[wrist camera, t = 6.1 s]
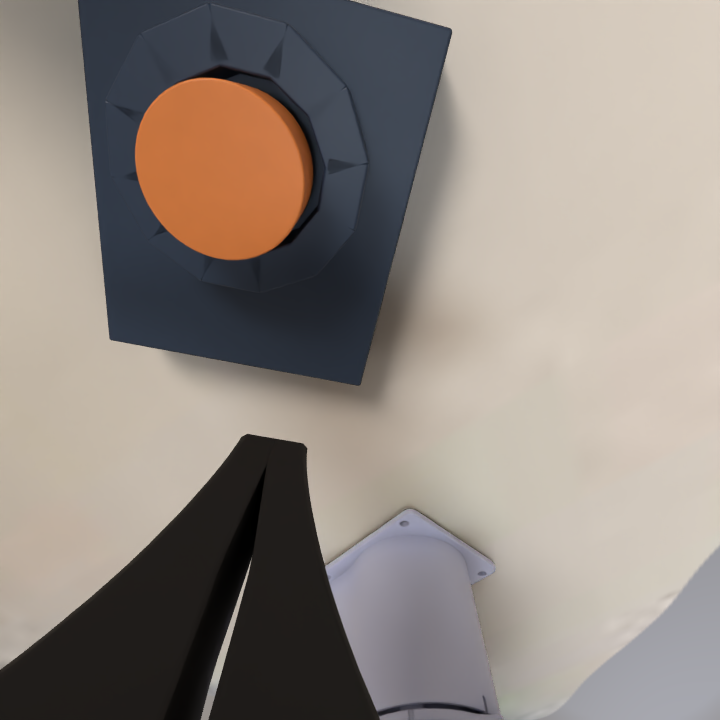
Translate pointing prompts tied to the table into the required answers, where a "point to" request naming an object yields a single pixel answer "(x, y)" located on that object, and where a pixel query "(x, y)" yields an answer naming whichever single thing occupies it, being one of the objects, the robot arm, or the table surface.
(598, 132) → the table surface
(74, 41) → the table surface
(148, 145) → the orange button
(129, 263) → the dark blue button base
